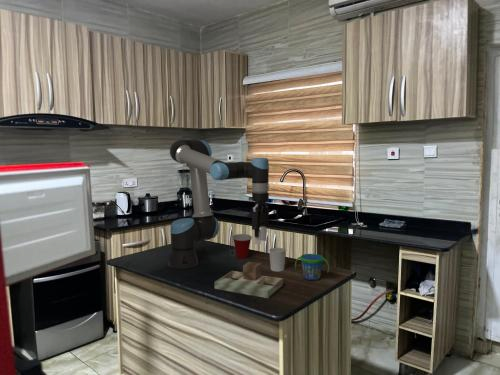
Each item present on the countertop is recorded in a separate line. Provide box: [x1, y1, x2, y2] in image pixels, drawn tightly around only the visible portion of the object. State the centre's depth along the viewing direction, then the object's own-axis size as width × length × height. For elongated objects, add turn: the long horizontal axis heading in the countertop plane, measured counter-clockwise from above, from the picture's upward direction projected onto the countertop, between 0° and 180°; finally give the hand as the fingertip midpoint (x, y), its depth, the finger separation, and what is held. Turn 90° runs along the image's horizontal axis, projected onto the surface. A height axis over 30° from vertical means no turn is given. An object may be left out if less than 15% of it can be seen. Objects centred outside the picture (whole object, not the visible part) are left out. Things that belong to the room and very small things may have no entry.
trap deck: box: [214, 270, 284, 299], centre depth 164 cm, size 25×16×3 cm, turn 64°
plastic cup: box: [232, 233, 253, 260], centre depth 208 cm, size 11×11×12 cm
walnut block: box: [242, 261, 262, 281], centre depth 167 cm, size 6×6×6 cm
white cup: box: [268, 247, 286, 273], centre depth 187 cm, size 8×8×10 cm
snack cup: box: [294, 253, 330, 281], centre depth 174 cm, size 16×10×10 cm
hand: (260, 242), depth 174 cm, fingers open, 6 cm apart
